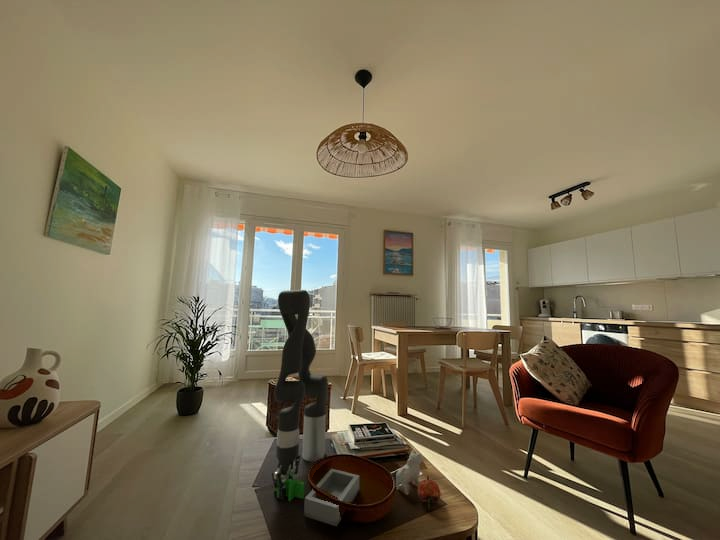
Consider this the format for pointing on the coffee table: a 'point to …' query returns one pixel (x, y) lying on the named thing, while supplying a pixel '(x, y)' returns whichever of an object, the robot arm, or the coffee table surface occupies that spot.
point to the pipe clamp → (293, 489)
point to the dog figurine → (409, 471)
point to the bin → (338, 486)
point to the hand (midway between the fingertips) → (285, 494)
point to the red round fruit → (429, 491)
